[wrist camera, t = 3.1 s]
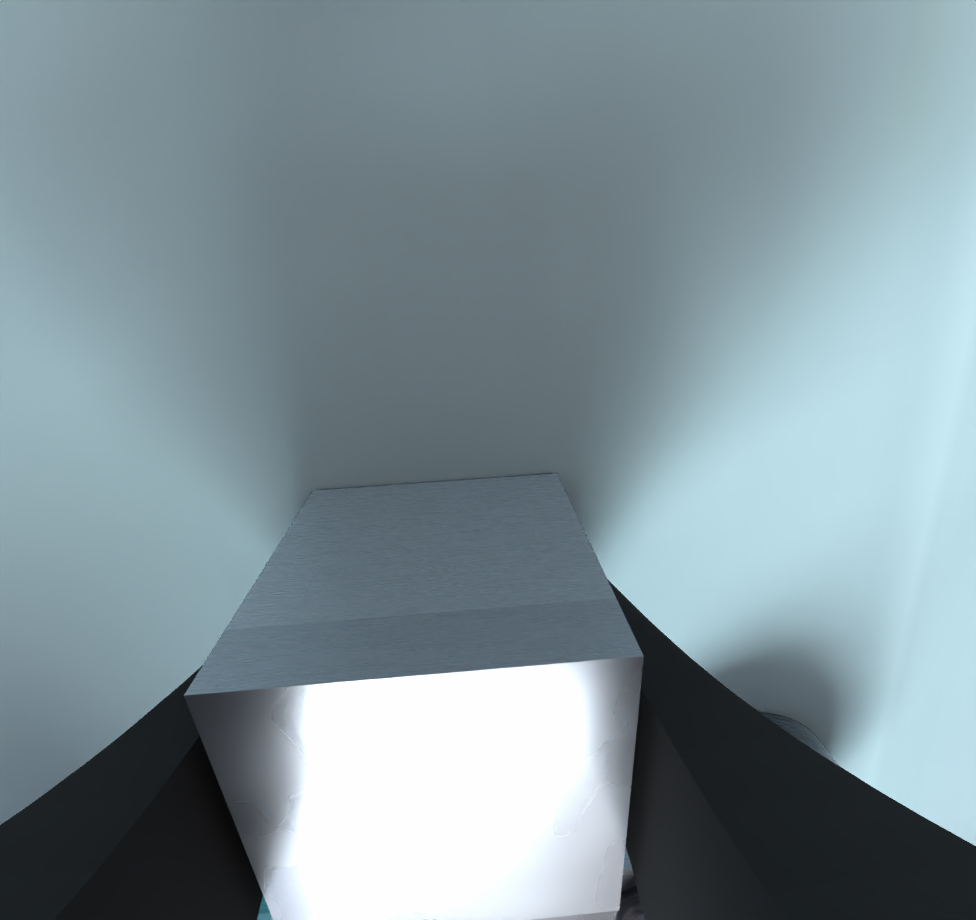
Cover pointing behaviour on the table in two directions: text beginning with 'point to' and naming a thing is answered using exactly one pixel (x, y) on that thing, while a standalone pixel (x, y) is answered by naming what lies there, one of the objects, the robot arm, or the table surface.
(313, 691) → the brushed metal cube
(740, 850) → the robot arm
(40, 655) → the table surface
